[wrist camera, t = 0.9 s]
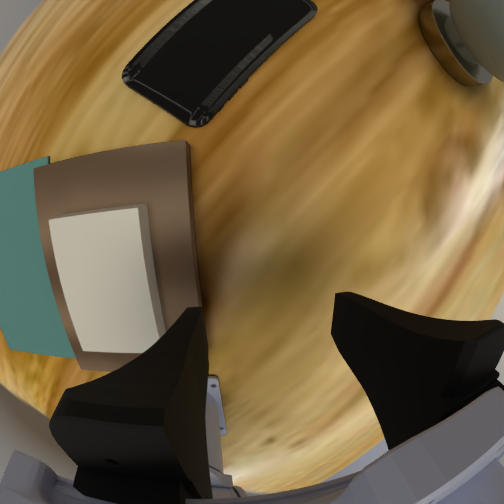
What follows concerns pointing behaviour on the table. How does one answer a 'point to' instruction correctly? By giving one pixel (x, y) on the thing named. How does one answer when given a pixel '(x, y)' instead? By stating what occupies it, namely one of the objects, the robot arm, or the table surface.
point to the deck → (123, 194)
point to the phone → (211, 53)
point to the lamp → (466, 38)
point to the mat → (26, 270)
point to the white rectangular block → (109, 278)
